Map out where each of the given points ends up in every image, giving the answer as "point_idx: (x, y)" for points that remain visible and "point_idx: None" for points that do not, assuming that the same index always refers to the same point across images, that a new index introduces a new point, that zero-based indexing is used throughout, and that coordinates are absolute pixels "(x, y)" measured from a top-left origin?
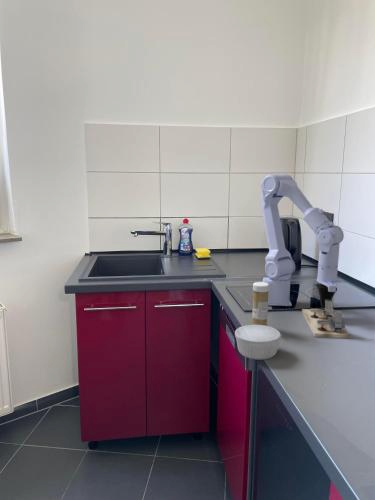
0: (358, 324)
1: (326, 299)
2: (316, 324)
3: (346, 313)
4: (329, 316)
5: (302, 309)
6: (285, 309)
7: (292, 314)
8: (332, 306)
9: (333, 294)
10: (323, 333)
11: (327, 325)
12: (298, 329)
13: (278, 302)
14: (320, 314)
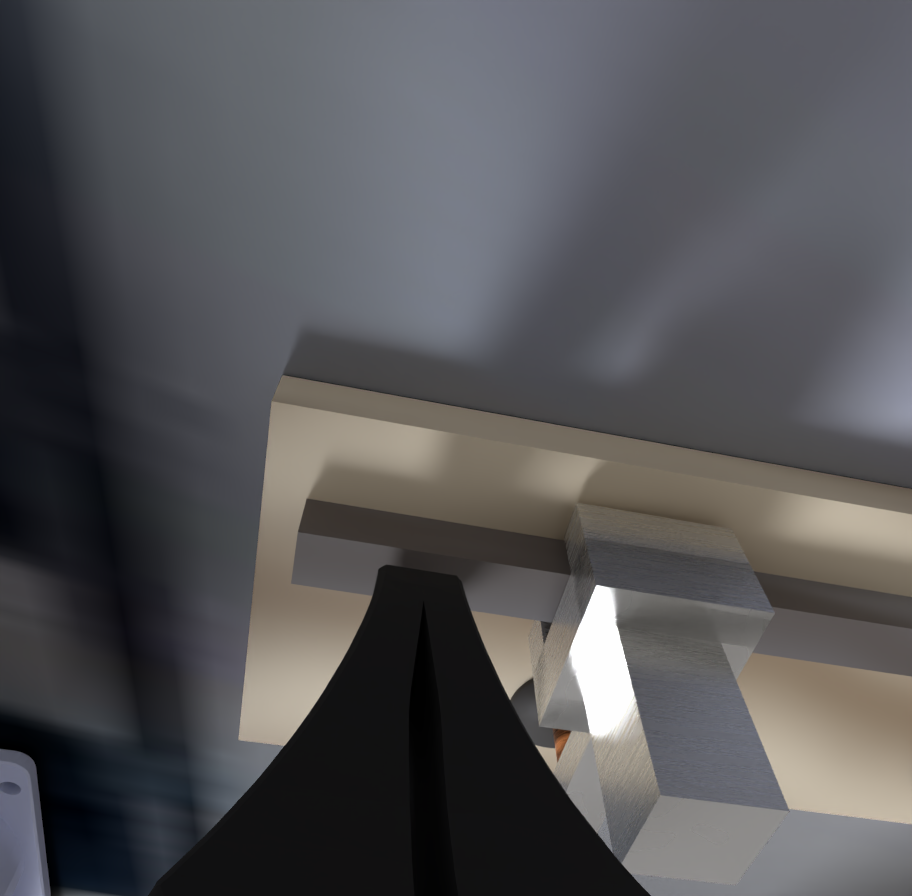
0: (909, 146)
1: (628, 861)
2: (804, 761)
3: (299, 68)
4: None
5: (256, 741)
6: (161, 816)
7: None
8: (745, 713)
9: (596, 838)
10: None
11: (886, 678)
12: (767, 854)
13: (13, 887)
14: (479, 618)
